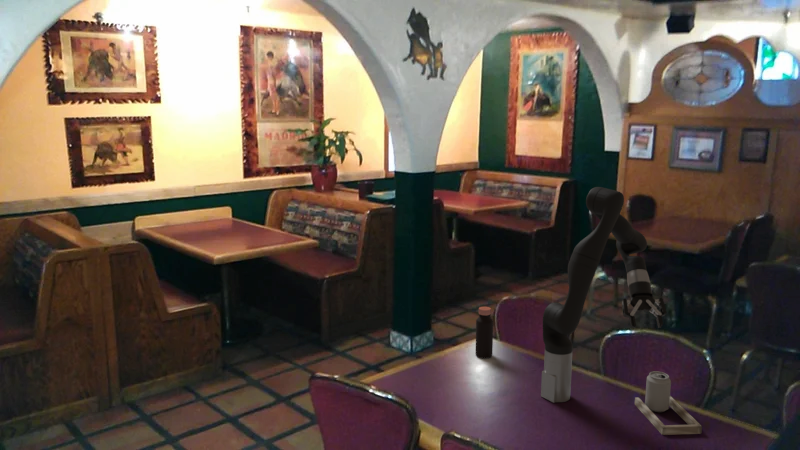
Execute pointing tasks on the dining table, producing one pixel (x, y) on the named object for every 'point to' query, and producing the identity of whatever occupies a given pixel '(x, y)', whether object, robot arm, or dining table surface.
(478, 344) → the bottle
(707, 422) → the dining table surface
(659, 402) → the can
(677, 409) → the wooden frame
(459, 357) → the dining table surface
